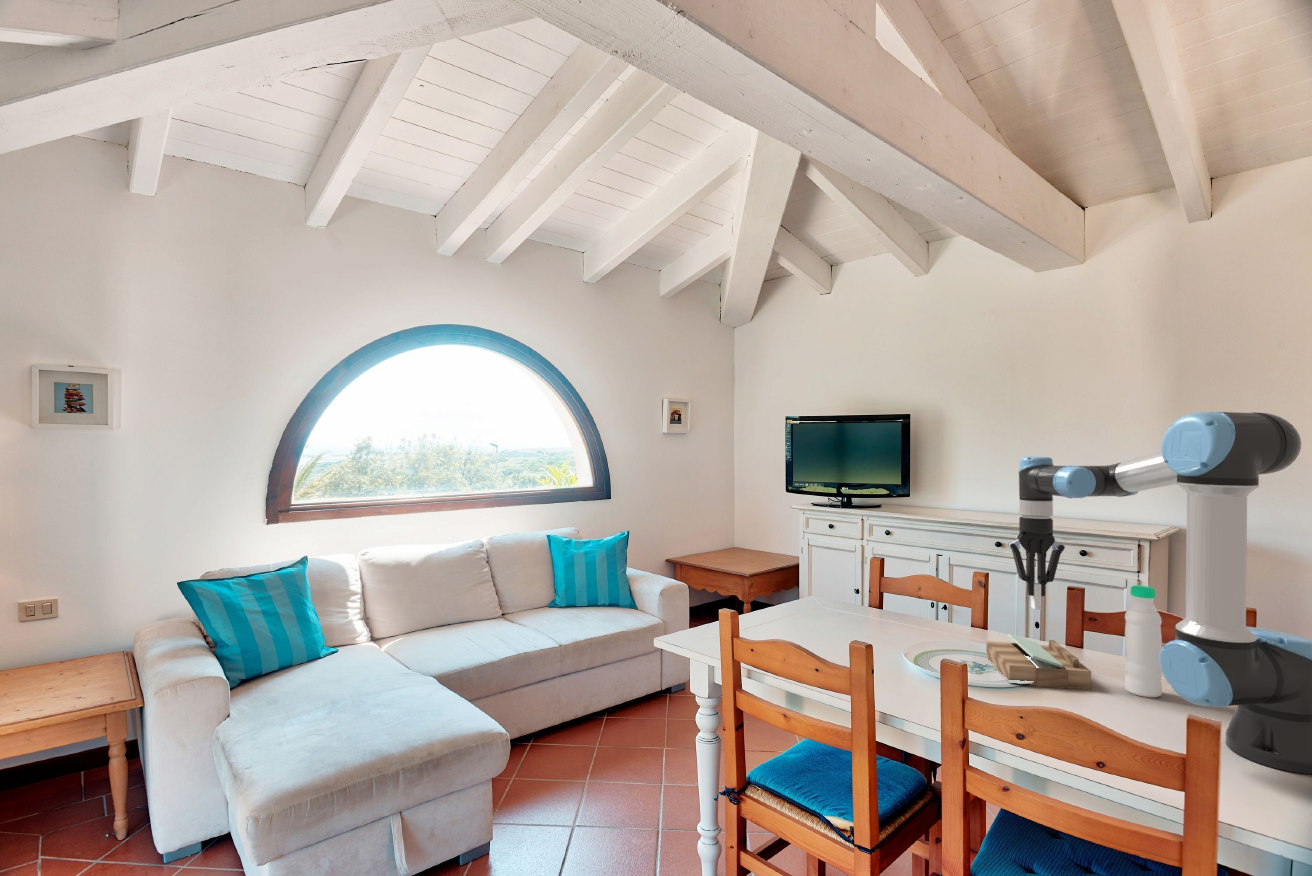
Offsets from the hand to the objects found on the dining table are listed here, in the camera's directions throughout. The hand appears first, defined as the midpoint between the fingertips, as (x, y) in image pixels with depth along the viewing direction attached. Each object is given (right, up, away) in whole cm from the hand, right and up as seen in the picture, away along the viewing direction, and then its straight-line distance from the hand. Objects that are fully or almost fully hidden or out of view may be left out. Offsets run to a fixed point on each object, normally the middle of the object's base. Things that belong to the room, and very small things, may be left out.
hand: (1036, 608), depth 171 cm
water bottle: (+17, -17, -14) cm, 28 cm away
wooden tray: (0, -16, 0) cm, 16 cm away
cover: (-1, -11, 0) cm, 11 cm away
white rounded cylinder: (+2, -14, 0) cm, 15 cm away
